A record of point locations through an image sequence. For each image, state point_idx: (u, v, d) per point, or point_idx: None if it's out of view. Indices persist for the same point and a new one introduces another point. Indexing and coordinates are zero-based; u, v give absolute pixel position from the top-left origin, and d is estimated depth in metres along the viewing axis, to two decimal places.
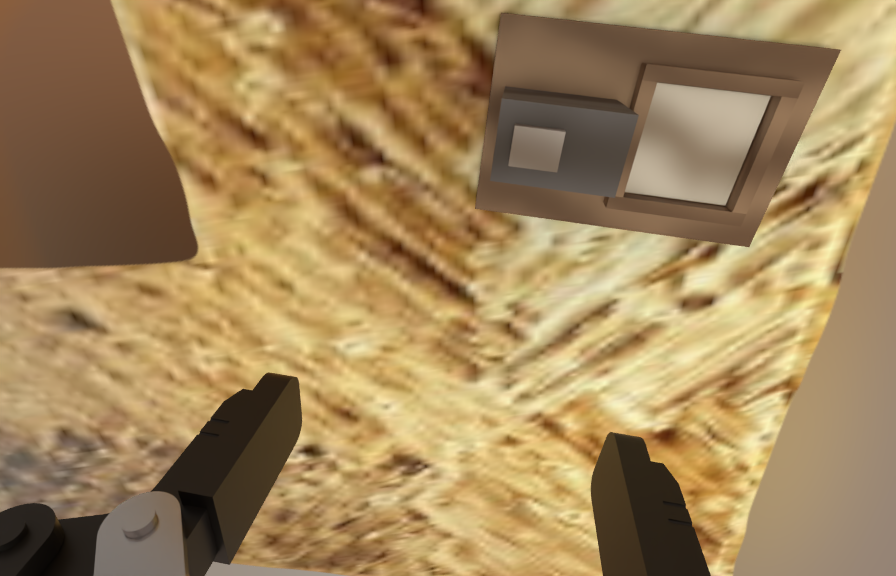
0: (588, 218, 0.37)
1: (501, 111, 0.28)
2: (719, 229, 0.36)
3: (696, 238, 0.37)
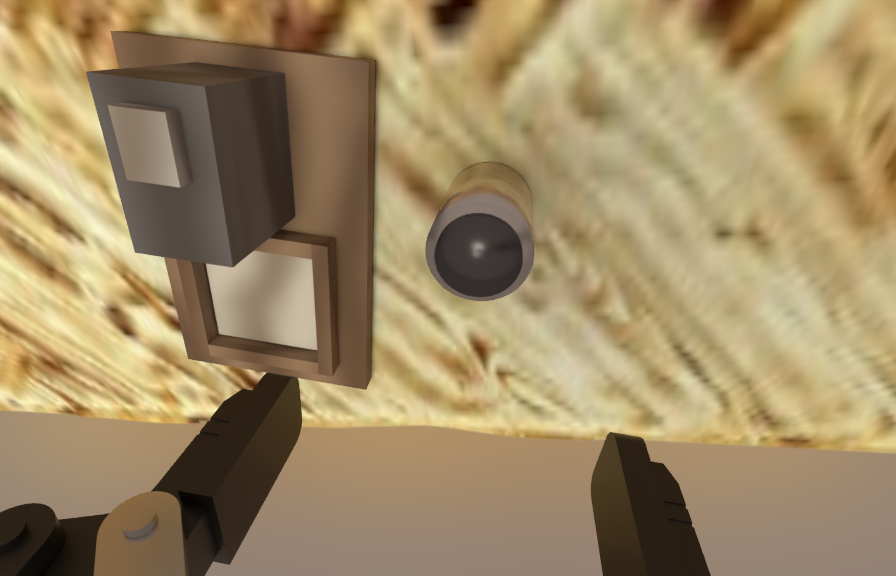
0: None
1: (187, 86, 0.18)
2: None
3: (179, 314, 0.33)
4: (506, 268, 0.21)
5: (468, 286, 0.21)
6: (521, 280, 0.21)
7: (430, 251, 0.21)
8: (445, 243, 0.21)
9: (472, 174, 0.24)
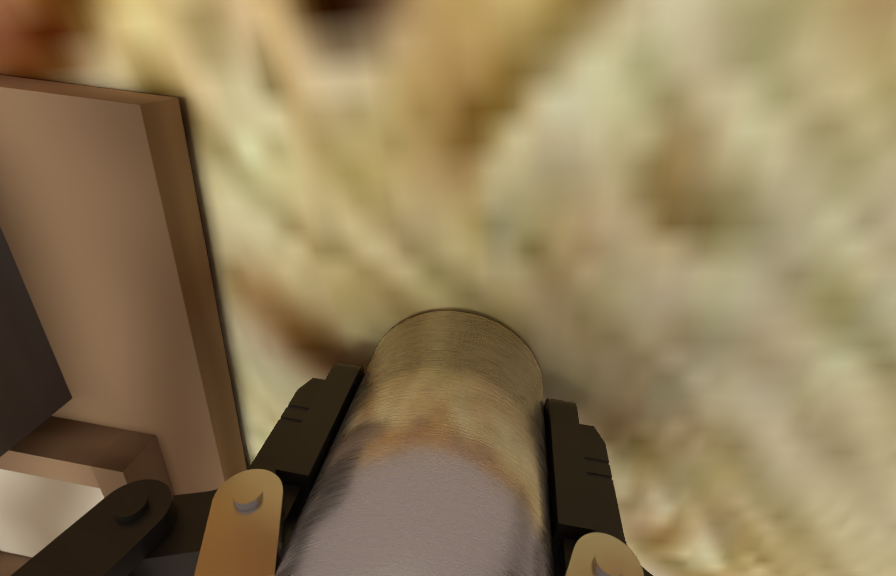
0: None
1: None
2: None
3: None
4: None
5: None
6: None
7: None
8: None
9: (407, 364, 0.10)
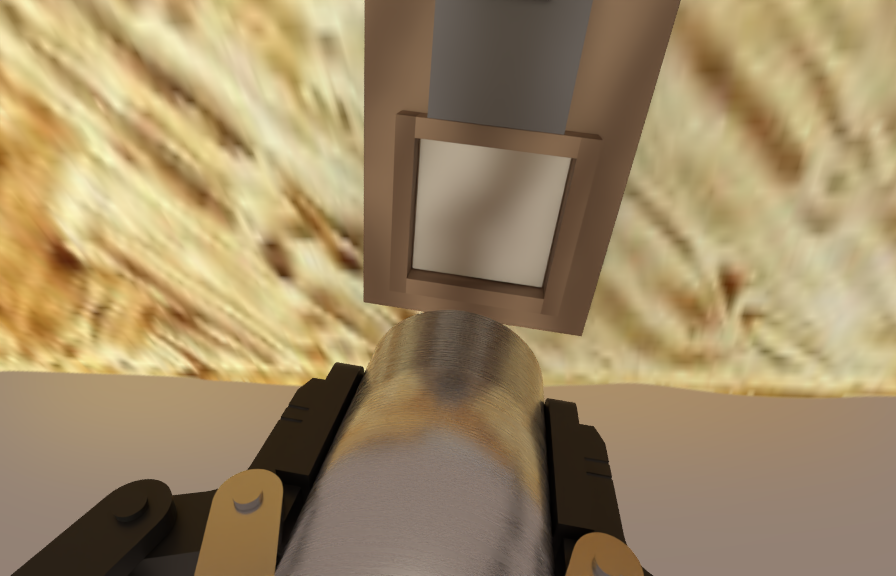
0: (373, 90, 0.23)
1: None
2: (381, 267, 0.28)
3: (365, 244, 0.28)
4: None
5: None
6: None
7: None
8: None
9: (407, 364, 0.10)
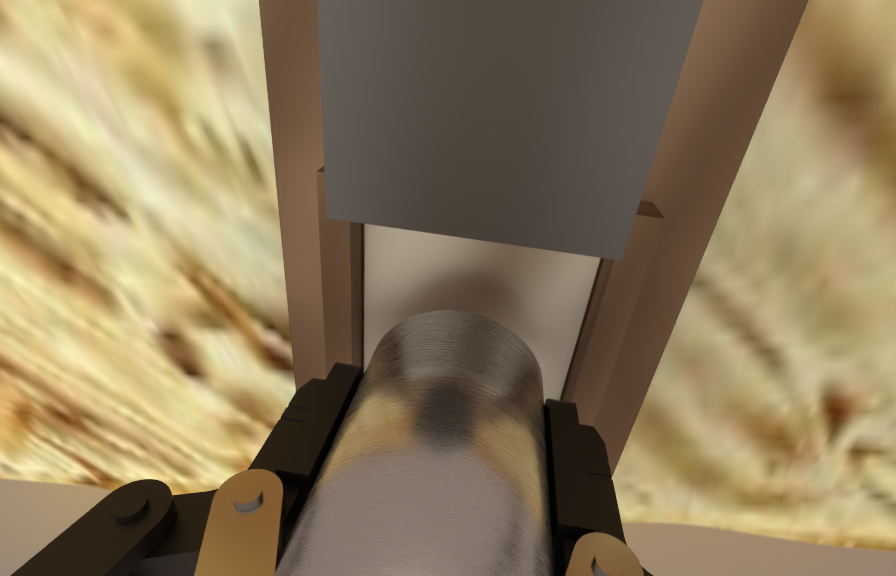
0: (285, 128, 0.14)
1: None
2: (319, 378, 0.19)
3: (294, 347, 0.19)
4: None
5: None
6: None
7: None
8: None
9: (407, 364, 0.10)
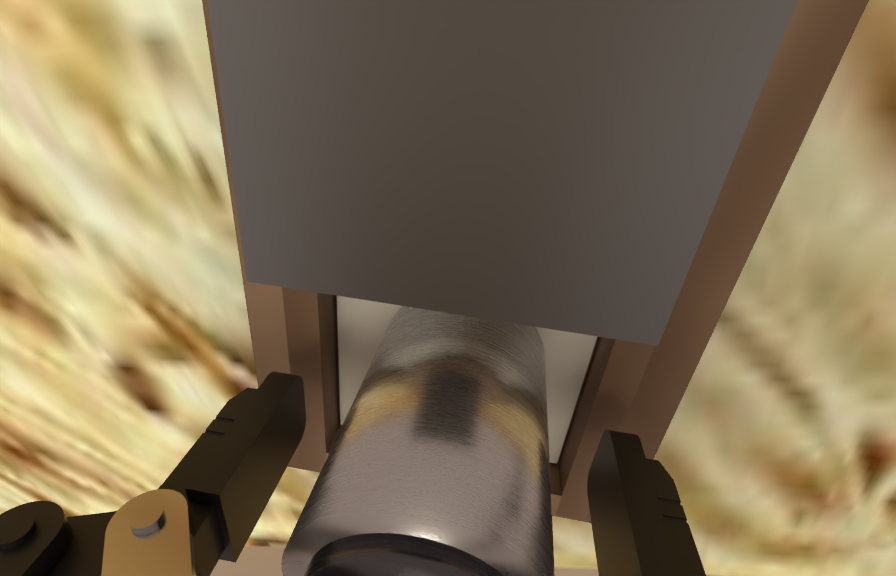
0: None
1: None
2: None
3: None
4: None
5: None
6: None
7: None
8: None
9: (422, 333, 0.11)
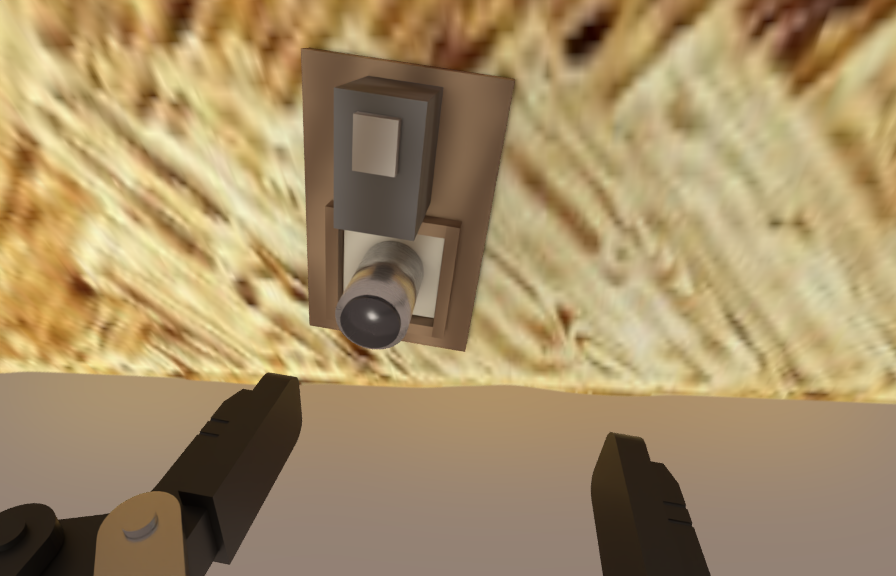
0: (311, 186, 0.34)
1: (413, 101, 0.24)
2: (321, 301, 0.39)
3: (309, 285, 0.39)
4: (389, 331, 0.31)
5: (364, 340, 0.31)
6: (400, 338, 0.31)
7: (338, 315, 0.31)
8: (347, 313, 0.30)
9: (377, 254, 0.34)
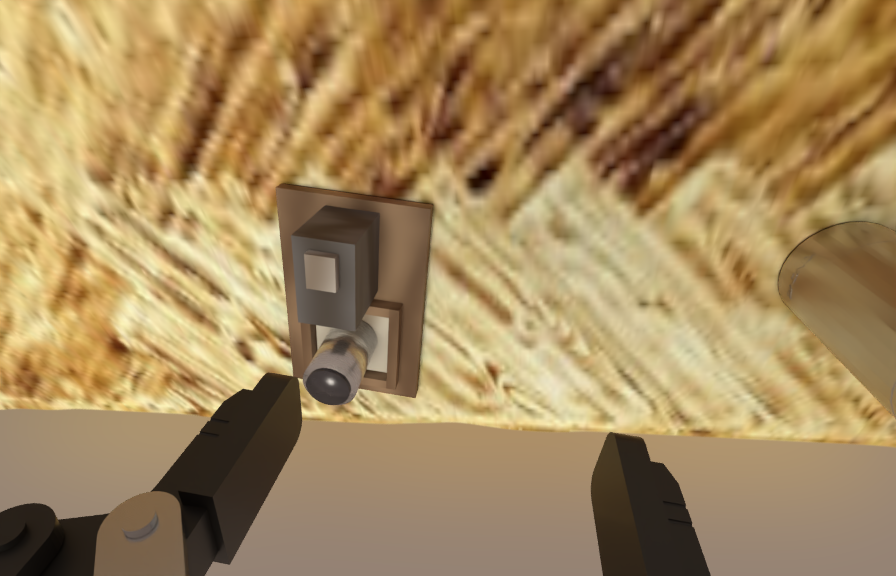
0: (288, 278, 0.45)
1: (345, 244, 0.35)
2: (301, 359, 0.50)
3: (291, 348, 0.50)
4: (341, 394, 0.41)
5: (323, 399, 0.42)
6: (351, 398, 0.42)
7: (305, 379, 0.42)
8: (311, 380, 0.41)
9: (339, 330, 0.44)
